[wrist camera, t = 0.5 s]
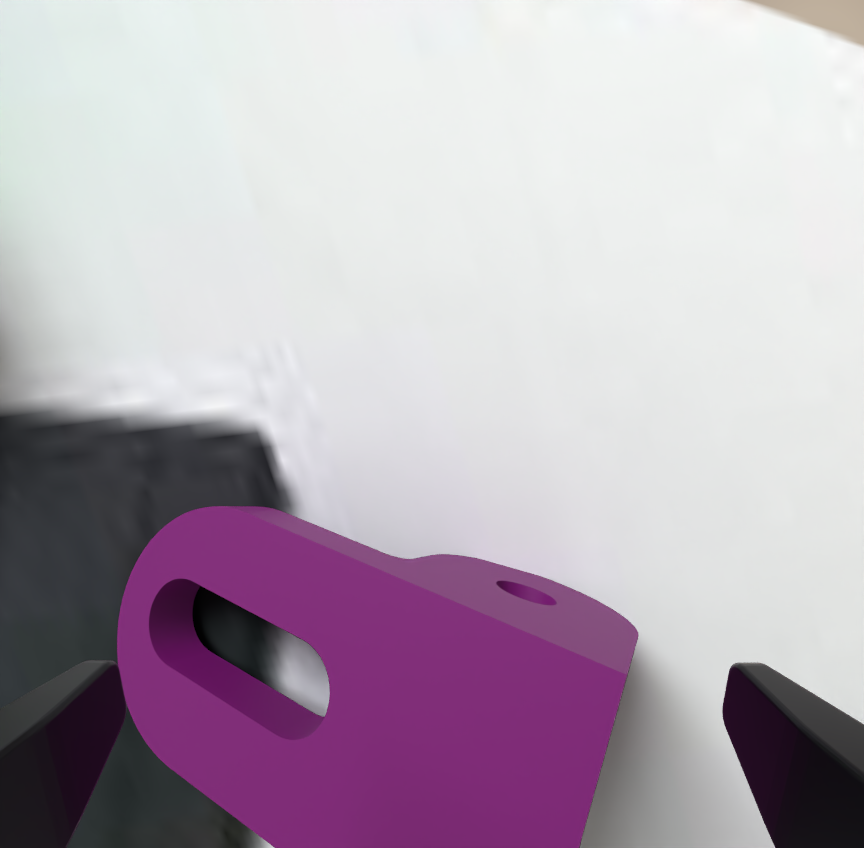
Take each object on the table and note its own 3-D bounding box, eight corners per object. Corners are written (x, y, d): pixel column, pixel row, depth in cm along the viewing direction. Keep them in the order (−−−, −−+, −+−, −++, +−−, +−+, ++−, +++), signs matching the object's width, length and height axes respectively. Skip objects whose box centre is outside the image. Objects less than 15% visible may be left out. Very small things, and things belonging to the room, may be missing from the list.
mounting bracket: (243, 654, 29) (579, 849, 21) (90, 706, 21) (525, 1039, 14) (294, 482, 29) (645, 615, 22) (159, 474, 22) (628, 675, 14)
